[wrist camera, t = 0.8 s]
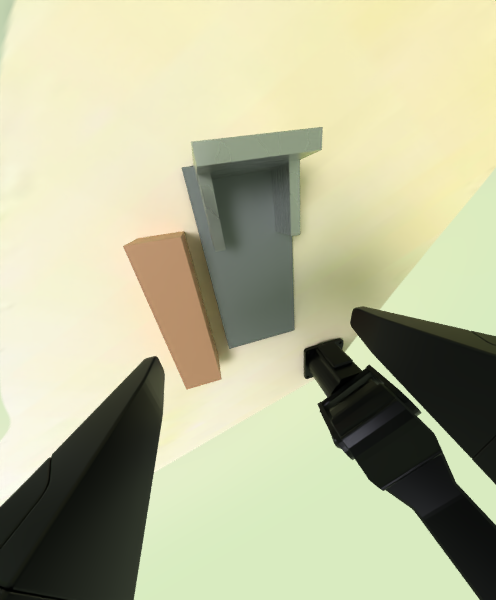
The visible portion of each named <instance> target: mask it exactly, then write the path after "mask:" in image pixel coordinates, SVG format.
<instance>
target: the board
mask: <svg viewBox="0 0 496 600" xmlns="http://www.w3.org/2000/svg"><path fill="white" fill-rule="evenodd" d="M182 171H183V175H184V178H185V182H186V186H187V190H188V194H189V197H190V201H191V205H192V209H193V213H194V216H195V220H196V224H197V228H198V232H199V235H200V239H201V243H202V247H203V251H204V254H205V258H206V262H207V266H208V270H209V273H210V277H211V281H212V285H213V289H214V292H215V296H216V300H217V304H218V308H219V311H220V315H221V319H222V323H223V327H224V330H225V334H226V338H227V342H228V346H229V349H231V348H234V347H238V346H241V345H245V344H248V343H252V342H255V341H258V340H262V339H265V338H269V337H272V336H276V335H279V334H283V333H286V332H290V331H293V330H294V293H293V257H292V236H289V235H285V234H282V233H279V232H275V219H274V205H273V190H272V176H271V170H270V171H263V172H256V173H250V174H243V175H236V176H229V177H222V178H215V179H212V184H213V189H214V194H215V199H216V204H217V209H218V214H219V219H220V224H221V229H222V233H223V238H224V243H225V248H226V250H222V251H217V252H216V251H215V249H214V247H213V244H212V240H211V236H210V232H209V228H208V223H207V219H206V215H205V211H204V206H203V202H202V198H201V194H200V189H199V185H198V181H197V179H196V175H195V171H194V167H193V166H190V167H182Z"/></svg>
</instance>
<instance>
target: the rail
mask: <svg viewBox="0 0 496 600" xmlns="http://www.w3.org/2000/svg"><path fill="white" fill-rule="evenodd" d="M123 247H124V249H125V252H126V254H127V256H128V258H129V261H130V263H131V265H132V267H133V270H134V272H135V274H136V276H137V279H138V281H139V283H140V285H141V288H142V290H143V292H144V294H145V297H146V299H147V301H148V303H149V306H150V308H151V310H152V312H153V315H154V317H155V319H156V321H157V324H158V326H159V328H160V331H161V333H162V335H163V337H164V340H165V342H166V344H167V346H168V349H169V351H170V353H171V355H172V358H173V360H174V362H175V364H176V367H177V369H178V371H179V373H180V376H181V378H182V380H183V382H184V385H185V387H186V389H190V388H193V387H197V386H200V385H203V384H207V383H210V382H214V381H217V380H221V372H220V365H219V358H218V354H217V350H216V346H215V343H214V339H213V336H212V332H211V328H210V325H209V321H208V317H207V314H206V310H205V306H204V303H203V299H202V296H201V292H200V288H199V285H198V281H197V277H196V274H195V270H194V266H193V263H192V259H191V255H190V252H189V248H188V245H187V241H186V237H185V234H184V231H182V232H176V233H170V234H163V235H157V236H150V237H144V238H138V239H136V240H134V241H132V242H130V243H128V244H126V245H125V246H123Z"/></svg>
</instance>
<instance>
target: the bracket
mask: <svg viewBox="0 0 496 600" xmlns="http://www.w3.org/2000/svg"><path fill="white" fill-rule="evenodd" d="M191 145H192V157H193V167H194V171H195V175H196V179H197V181H198V185H199V189H200V194H201V198H202V202H203V206H204V211H205V215H206V219H207V223H208V228H209V232H210V236H211V240H212V244H213V247H214V249H215V251H216V252H217V251H222V250H226V248H225V243H224V238H223V233H222V229H221V224H220V219H219V214H218V209H217V204H216V199H215V194H214V189H213V184H212V179H215V178H222V177H229V176H236V175H243V174H250V173H256V172H263V171H270V170H271V176H272V190H273V205H274V219H275V232H279V233H282V234H285V235H289V236H295V235H300V160H301V159H303V158H305V157H307V156H309V155H312V154H314V153H316V152H318V151H320V150H322V127H318V128H309V129H300V130H292V131H283V132H274V133H265V134H256V135H248V136H239V137H230V138H221V139H212V140H203V141H195V142H191Z"/></svg>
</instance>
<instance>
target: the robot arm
mask: <svg viewBox="0 0 496 600" xmlns="http://www.w3.org/2000/svg"><path fill="white" fill-rule="evenodd" d="M350 324H351V327H352V328H353V329H354V331H355V332H356V333H357V335H358V336H359V337H360V338H361V340H362V341H363V342H364V343H365V344H366V346H367V347H368V348H369V350H370V351H371V352H372V353H373V354H374V355H375V356H376V358H377V359H378V360H379V361H380V362H381V363H382V364H383V365H384V366H385V367H386V368H387V369H388V370H389V371H390V372H391V373H392V374H393V376H394V377H395V378H396V379H397V380H398V381H399V382H400V383H401V384H402V385H403V386H404V387H405V388H406V389H407V391H408V392H409V393H410V394H411V395H412V396H413V397H414V398H415V399H416V400H417V401H418V402H419V403H420V404H421V405H422V406H423V408H424V409H426V411H427V412H428V413H429V414H430V415H431V416H432V417H433V418H434V419H435V420H436V421H437V422H438V423H439V424H440V426H441V427H442V428H443V429H444V430H445V431H446V432H447V433H448V434H449V435H450V436H451V437H452V438H453V439H454V440H455V441H456V442H457V444H458V445H459V446H460V447H461V448H462V449H463V450H464V451H465V452H466V453H467V454H468V455H469V456H470V457H471V458H472V460H473V461H474V462H475V463H476V464H477V465H478V466H479V467H480V468H481V469H482V470H483V471H484V472H485V474H486V475H487V476H488V477H489V478H490V479H491V480H492V481H493V482H494V483H495V484H496V336H492V335H487V334H483V333H479V332H474V331H469V330H465V329H461V328H456V327H452V326H447V325H443V324H439V323H434V322H429V321H425V320H421V319H416V318H412V317H407V316H403V315H398V314H394V313H390V312H386V311H381V310H377V309H372V308H368V307H363V306H362V307H357V308H354V309H353V311H352V316H351V321H350ZM342 348H343V340H342V339H336V340H333V341H330V342H326V343H323V344H320V345H317V346H313V347H310V348H307V349H305V350H304V377H305V379H309V378H312V377H314V378H315V380H316V381H317V382H318V384H319V385H320V387H321V388H322V390H323V391H324V393H325V394H326V396H327V398H326V399H325V400H324V401H322V402H320V403H318V406H319V408H320V412H321V414H322V416H323V418H324V420H325V422H326V424H327V426H328V429H329V430H330V433H331V436H332V439H333V441H334V444H335V445H336V446H337V447H338V448H341V449H342V450H343V451H344V452H345V453H346V454H347V455H348V456H349V457H350V458H351V459H352V460H353V459H355V460H356V461H357V463H358V464H359V466H360V467H361V468H362V470H363V471H364V473H365V474H366V476H367V477H368V479H369V480H370V481H371V482H372V483H373V484H375V485H376V486H377V487H379V488H380V489H381V490H383V491H384V490H386V491H388V492H389V493H390V494H392V495H393V496H395V497H396V498H398V499H399V500H401V501H402V502H404V503H405V504H406V505H408V506H409V507H410V508H412V509H413V510H414V511H415V513H416V514H417V515H418V517H419V518H420V519H421V521H422V522H423V523H424V525H425V526H426V527H427V529H428V530H429V531H430V533H431V534H432V536H433V537H434V538H435V540H436V541H437V542H438V544H439V545H440V546H441V548H442V549H443V550H444V552H445V553H446V555H447V556H448V557H449V559H450V560H451V561H452V563H453V564H454V565H455V567H456V568H457V569H458V571H459V572H460V573H461V575H462V576H463V577H464V579H465V580H466V582H467V583H468V584H469V586H470V587H471V588H472V590H473V591H474V592H475V594H476V595H477V596H478V598H479V599H480V600H496V525H495V524H494V523H493V522H492V521H491V520H490V519H489V518H488V516H487V515H486V514H485V513H484V512H483V511H482V510H481V509H480V508H479V507H478V506H477V505H476V504H475V503H474V502H473V500H472V499H471V498H470V497H469V496H468V495H467V494H466V493H465V492H464V491H463V490H462V489H461V488H460V487H459V486H458V485H457V484H456V482H455V479H454V477H453V475H452V473H451V470H450V468H449V466H448V463H447V461H446V459H445V456H444V454H443V452H442V450H441V447H440V445H439V443H438V440H437V438H436V436H435V434H434V433H433V432H432V431H431V430H430V429H429V428H428V427H427V426H426V425H425V424H424V423H423V422H422V421H421V420H420V419H419V418H418V417H417V416H418V415H419V414H421V412H420V410H419V409H418V408H417V407H416V406H415V405H414V404H413V403H412V402H411V401H410V400H409V399H408V398H407V397H406V396H405V395H404V394H403V393H402V392H401V391H400V390H399V389H397V388H396V387H395V386H394V385H393V384H392V383H390V382H389V381H388V380H387V379H386V378H385V377H383V376H382V375H381V374H380V373H379V372H377V371H376V370H375V369H374V368H373V367H371V366H370V365H368V366H367V367H366V369H364V370H363V371H362V370H361V369H360V368H359V367H358V366H357V365H356V364H355V363H354V362H353V360H352V359H351V358H350V357H349V356H348V355H347V354H346V353H345V352H344V351H343V350H342ZM164 380H165V374H164V370H163V367H162V365H161V363H160V361H159V359H158V357H156V356H154V357H149V358H146V359H144V360H143V361H142V362H141V363H140V364H139V366H138V367H137V368H136V369H135V370H134V371H133V372H132V373H131V374H130V375H129V376H128V377H127V378H126V379H125V380H124V381H123V382H122V383H121V384H120V385H119V386H118V387H117V388H116V389H115V390H114V391H113V392H112V393H111V394H110V395H109V396H108V397H107V398H106V399H105V401H104V402H103V403H102V404H101V405H100V406H99V407H98V408H97V409H96V410H95V411H94V412H93V413H92V414H91V415H90V416H89V417H88V418H87V419H86V420H85V421H84V422H83V423H82V424H81V425H80V426H79V427H78V428H77V429H76V430H75V431H74V432H73V433H72V434H71V436H70V437H69V438H68V439H67V440H66V441H65V442H64V443H63V444H62V445H61V446H60V447H59V448H58V449H57V450H56V451H55V452H54V453H53V454H52V457H50V458H48V459H47V460H46V461H45V462H44V463H43V464H42V465H41V466H40V467H39V468H38V469H37V470H36V471H35V472H34V473H33V475H32V476H31V477H30V478H29V479H28V480H27V481H26V482H25V483H24V484H23V485H22V486H21V487H20V488H19V489H18V490H17V491H16V492H15V493H14V494H13V495H12V496H11V497H10V498H9V499H8V500H7V501H6V502H5V503H4V504H3V505H2V506H1V507H0V600H134V594H135V587H136V581H137V575H138V569H139V562H140V556H141V550H142V543H143V537H144V530H145V524H146V518H147V512H148V505H149V499H150V493H151V486H152V479H153V474H154V467H155V461H156V455H157V448H158V442H159V436H160V430H161V423H162V416H163V402H164Z"/></svg>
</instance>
